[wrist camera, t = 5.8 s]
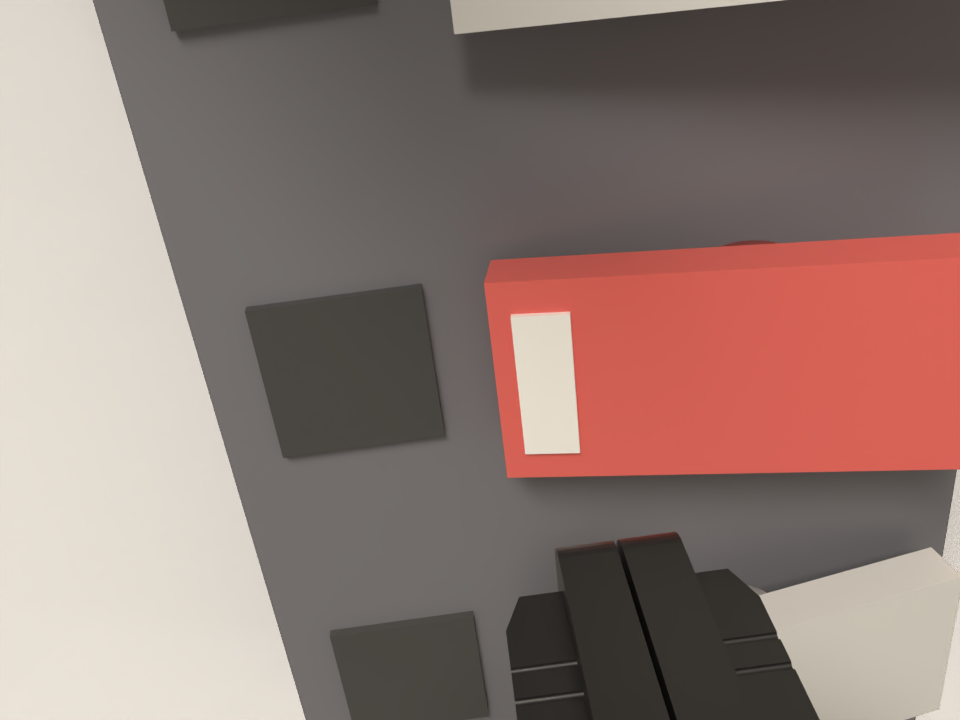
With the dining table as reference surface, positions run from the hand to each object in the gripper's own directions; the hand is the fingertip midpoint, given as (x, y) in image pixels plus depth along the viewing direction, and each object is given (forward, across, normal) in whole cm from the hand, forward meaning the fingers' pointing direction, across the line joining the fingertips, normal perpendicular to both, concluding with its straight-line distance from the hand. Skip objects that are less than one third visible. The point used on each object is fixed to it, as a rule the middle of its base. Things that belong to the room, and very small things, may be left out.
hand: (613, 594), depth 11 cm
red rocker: (+6, -4, 0) cm, 7 cm away
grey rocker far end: (+6, -4, +8) cm, 10 cm away
